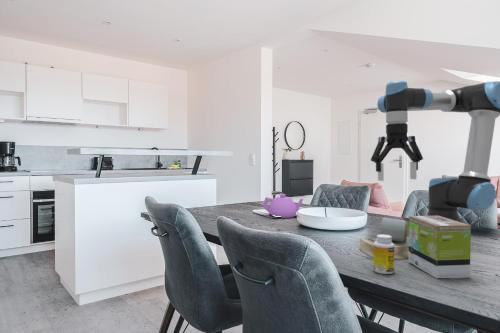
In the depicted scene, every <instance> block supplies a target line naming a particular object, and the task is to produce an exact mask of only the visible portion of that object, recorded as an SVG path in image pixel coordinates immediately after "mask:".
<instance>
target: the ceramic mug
mask: <svg viewBox="0 0 500 333" xmlns="http://www.w3.org/2000/svg"><path fill="white" fill-rule="evenodd" d="M380 226H381V227H380V235H382V234H383V235H390V236H391V237H392V241H396V242H406V241H407V237H409V221H406V220H403V219H397V218H390V217H385V216H384V217H382V220H381V225H380Z"/></svg>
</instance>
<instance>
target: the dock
mask: <svg viewBox="0 0 500 333" xmlns="http://www.w3.org/2000/svg"><path fill="white" fill-rule="evenodd" d="M376 241H377V237H369V238H359V250H360V252H362V253H364V254H366V255H368V256H369V257H371V258H373V254H374V242H376ZM392 243H393V244H394V260H405V259H408V260H409V236H407V241H406V242H396V241H392Z"/></svg>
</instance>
